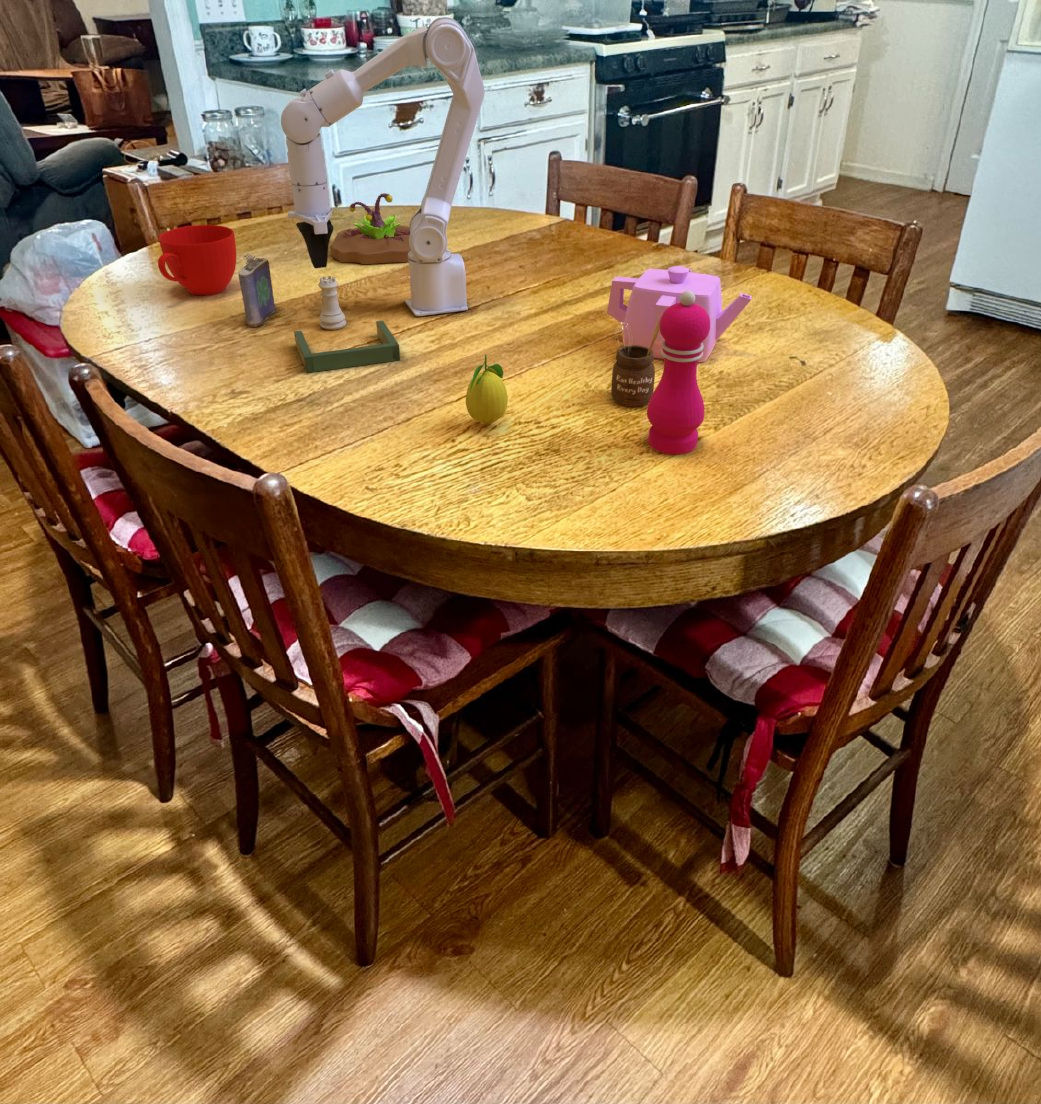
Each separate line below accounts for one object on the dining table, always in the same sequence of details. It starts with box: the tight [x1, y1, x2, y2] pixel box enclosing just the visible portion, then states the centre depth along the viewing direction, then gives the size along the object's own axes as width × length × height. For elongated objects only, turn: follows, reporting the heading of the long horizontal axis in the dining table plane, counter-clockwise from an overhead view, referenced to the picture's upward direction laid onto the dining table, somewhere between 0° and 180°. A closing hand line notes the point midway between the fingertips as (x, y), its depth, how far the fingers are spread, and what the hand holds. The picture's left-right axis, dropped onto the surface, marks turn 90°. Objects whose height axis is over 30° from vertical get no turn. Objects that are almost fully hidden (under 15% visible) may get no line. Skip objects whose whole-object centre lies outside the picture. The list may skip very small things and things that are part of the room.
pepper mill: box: [646, 291, 710, 455], centre depth 111 cm, size 7×7×20 cm
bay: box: [293, 320, 401, 374], centre depth 141 cm, size 14×11×2 cm
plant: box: [329, 192, 411, 265], centre depth 183 cm, size 20×20×11 cm
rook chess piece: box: [317, 275, 347, 331], centre depth 149 cm, size 4×4×8 cm
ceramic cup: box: [157, 224, 237, 296], centre depth 162 cm, size 13×17×10 cm
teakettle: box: [606, 265, 753, 363], centre depth 140 cm, size 17×17×12 cm
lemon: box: [465, 353, 509, 426], centre depth 118 cm, size 7×6×10 cm
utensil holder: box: [610, 315, 662, 407], centre depth 124 cm, size 6×6×12 cm
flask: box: [238, 253, 277, 328], centre depth 151 cm, size 9×3×11 cm, turn 172°
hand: (319, 266), depth 152 cm, fingers closed
